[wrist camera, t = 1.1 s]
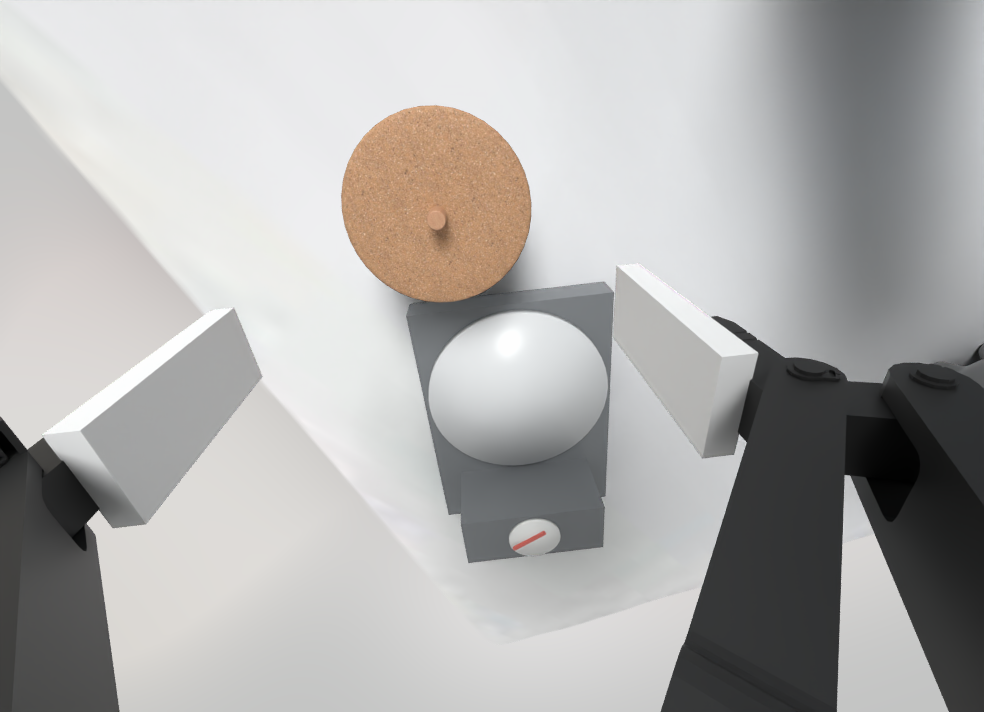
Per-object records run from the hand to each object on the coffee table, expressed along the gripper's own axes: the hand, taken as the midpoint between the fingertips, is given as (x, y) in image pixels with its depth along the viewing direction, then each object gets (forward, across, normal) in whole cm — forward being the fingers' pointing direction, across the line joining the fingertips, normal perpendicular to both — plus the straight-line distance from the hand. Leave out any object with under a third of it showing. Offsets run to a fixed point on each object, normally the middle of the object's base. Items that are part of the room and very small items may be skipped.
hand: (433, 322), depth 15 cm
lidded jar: (+19, 0, +2) cm, 19 cm away
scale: (+19, +4, -17) cm, 26 cm away
